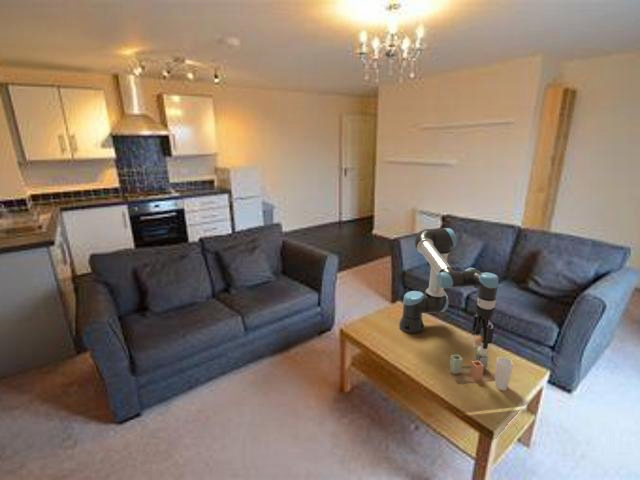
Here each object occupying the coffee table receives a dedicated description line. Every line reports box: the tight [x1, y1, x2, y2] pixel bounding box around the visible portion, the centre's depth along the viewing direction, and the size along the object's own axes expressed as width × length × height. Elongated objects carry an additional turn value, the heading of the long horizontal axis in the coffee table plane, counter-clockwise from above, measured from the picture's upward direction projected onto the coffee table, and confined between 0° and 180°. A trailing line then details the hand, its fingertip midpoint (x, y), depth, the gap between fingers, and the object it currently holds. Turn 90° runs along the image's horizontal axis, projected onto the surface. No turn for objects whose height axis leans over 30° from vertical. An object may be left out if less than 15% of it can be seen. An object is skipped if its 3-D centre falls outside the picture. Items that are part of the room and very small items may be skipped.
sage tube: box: [449, 354, 464, 374], centre depth 169 cm, size 4×4×8 cm
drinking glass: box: [494, 356, 514, 391], centre depth 157 cm, size 7×7×15 cm
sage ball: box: [476, 346, 489, 357], centre depth 169 cm, size 5×5×5 cm
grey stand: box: [474, 352, 489, 371], centre depth 170 cm, size 4×4×8 cm
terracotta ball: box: [475, 334, 483, 347], centre depth 159 cm, size 5×5×5 cm
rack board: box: [445, 364, 495, 385], centre depth 168 cm, size 12×20×1 cm, turn 97°
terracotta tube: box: [470, 360, 484, 381], centre depth 164 cm, size 4×4×8 cm
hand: (479, 350), depth 161 cm, fingers closed on terracotta ball, 5 cm apart
